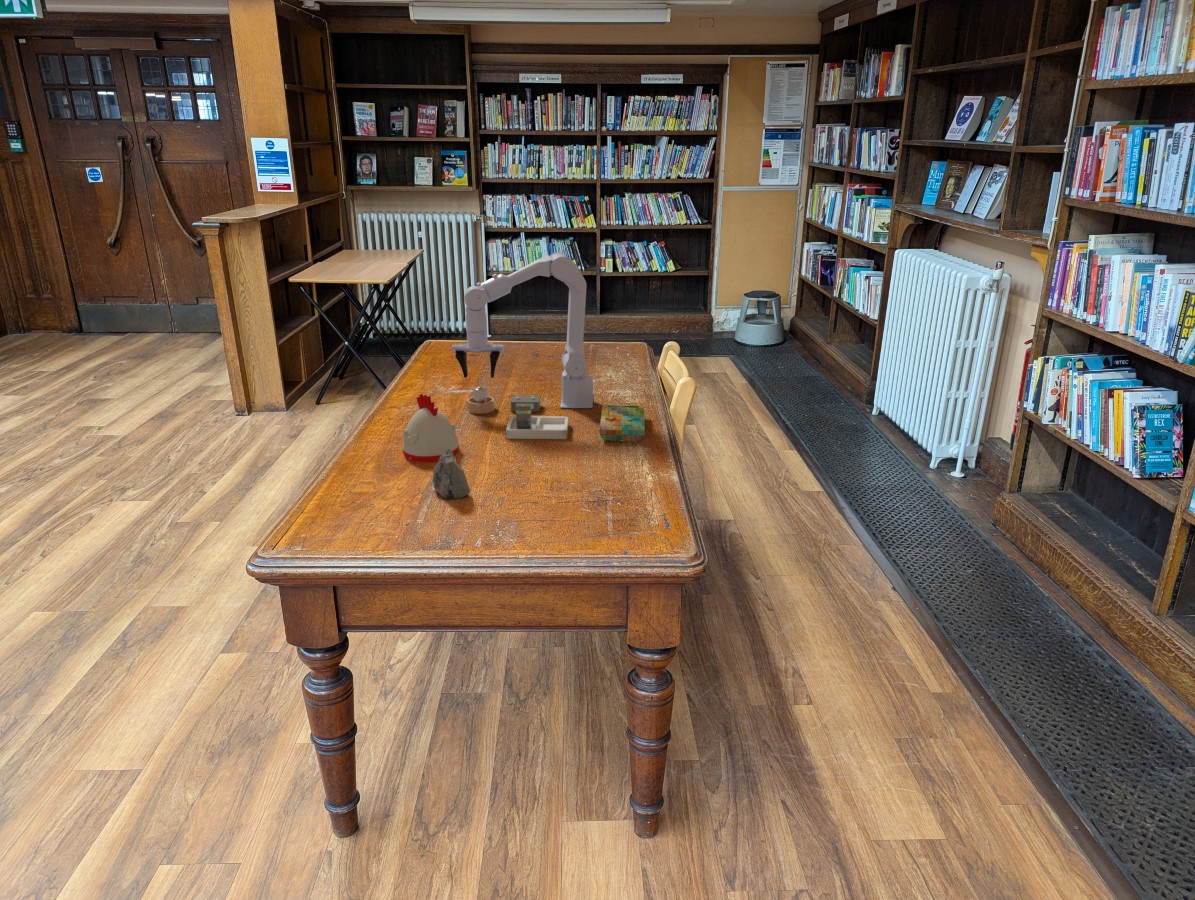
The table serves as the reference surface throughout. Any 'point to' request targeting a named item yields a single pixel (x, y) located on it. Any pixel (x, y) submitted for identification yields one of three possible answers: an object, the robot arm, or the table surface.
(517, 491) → the table surface
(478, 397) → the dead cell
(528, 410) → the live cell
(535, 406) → the grey box with knobs
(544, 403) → the table surface
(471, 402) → the pink bowl
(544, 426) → the tray
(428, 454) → the kitchen timer
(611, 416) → the puzzle game
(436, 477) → the mineral rock
